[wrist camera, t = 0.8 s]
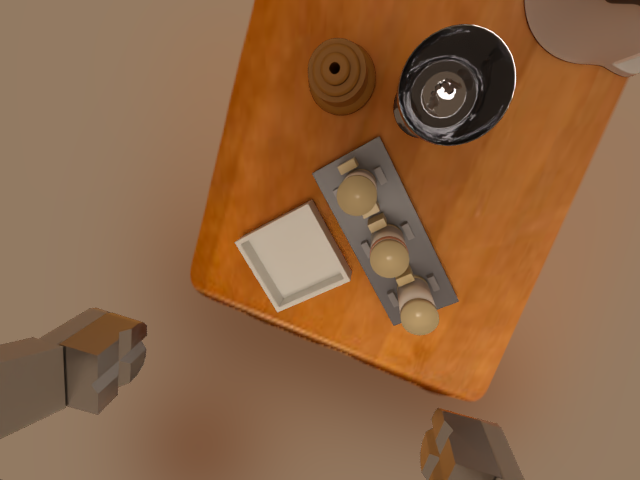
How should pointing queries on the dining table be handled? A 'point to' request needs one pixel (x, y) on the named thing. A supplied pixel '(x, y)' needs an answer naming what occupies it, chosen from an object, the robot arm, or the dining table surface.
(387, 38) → the dining table surface
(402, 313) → the fuse
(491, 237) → the dining table surface
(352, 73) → the ornamental finial
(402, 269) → the marked fuse
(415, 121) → the wine glass
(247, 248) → the tray
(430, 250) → the fuse block
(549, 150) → the dining table surface
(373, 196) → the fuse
